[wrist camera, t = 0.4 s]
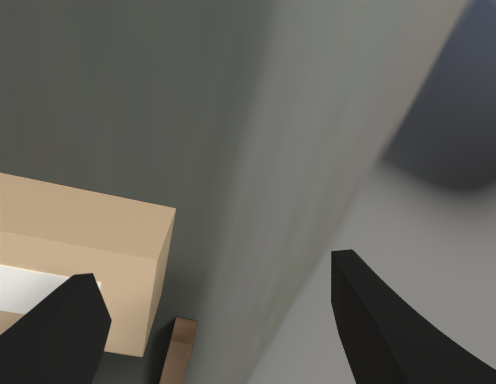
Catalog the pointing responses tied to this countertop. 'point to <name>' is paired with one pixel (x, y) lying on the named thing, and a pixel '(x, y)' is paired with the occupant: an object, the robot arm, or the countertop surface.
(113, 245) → the carton
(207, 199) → the countertop surface
